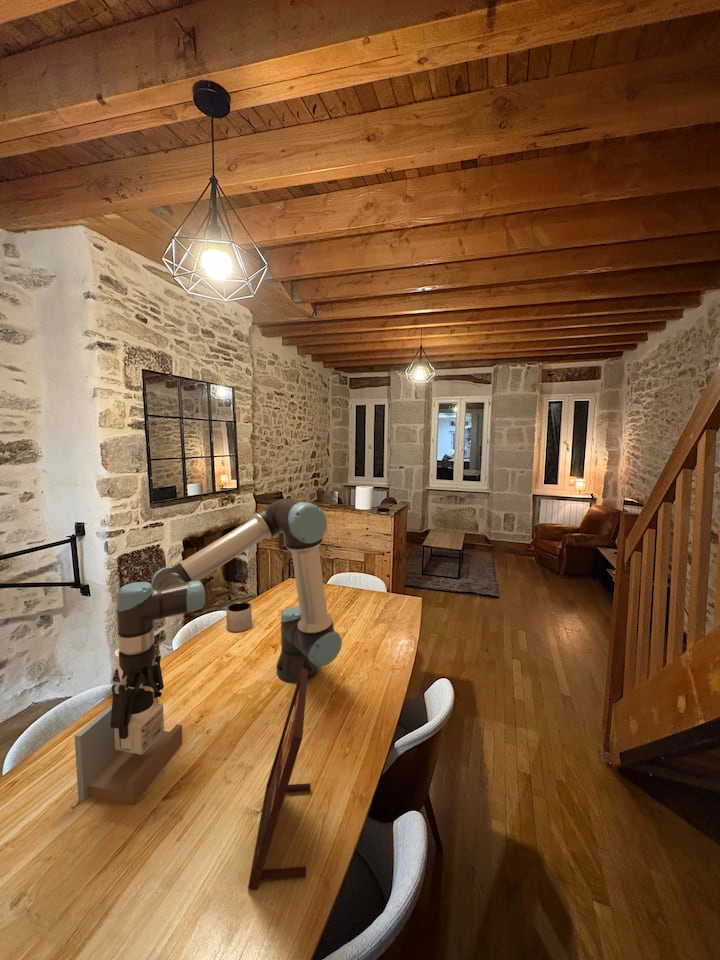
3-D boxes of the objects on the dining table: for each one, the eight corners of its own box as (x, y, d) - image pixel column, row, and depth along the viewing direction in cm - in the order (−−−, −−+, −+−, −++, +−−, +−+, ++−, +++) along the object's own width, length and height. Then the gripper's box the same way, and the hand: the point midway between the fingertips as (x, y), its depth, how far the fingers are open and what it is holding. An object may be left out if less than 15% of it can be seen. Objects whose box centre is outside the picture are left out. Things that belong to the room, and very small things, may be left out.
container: (141, 755, 90) (139, 704, 89) (114, 750, 91) (112, 699, 90) (164, 731, 97) (163, 684, 96) (139, 727, 99) (137, 680, 98)
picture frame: (266, 788, 90) (264, 669, 87) (310, 785, 91) (310, 667, 88) (247, 890, 69) (245, 739, 67) (305, 885, 70) (305, 735, 68)
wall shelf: (184, 740, 104) (182, 686, 103) (130, 809, 85) (127, 743, 83) (141, 734, 106) (138, 681, 105) (78, 800, 87) (74, 735, 85)
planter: (257, 625, 171) (256, 605, 170) (237, 635, 162) (237, 614, 161) (240, 619, 177) (240, 599, 176) (221, 628, 168) (220, 607, 167)
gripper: (152, 626, 103) (155, 704, 105) (86, 670, 83) (91, 766, 85) (177, 628, 102) (179, 707, 104) (117, 673, 81) (121, 771, 83)
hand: (140, 734), depth 94 cm, fingers closed on container, 8 cm apart
